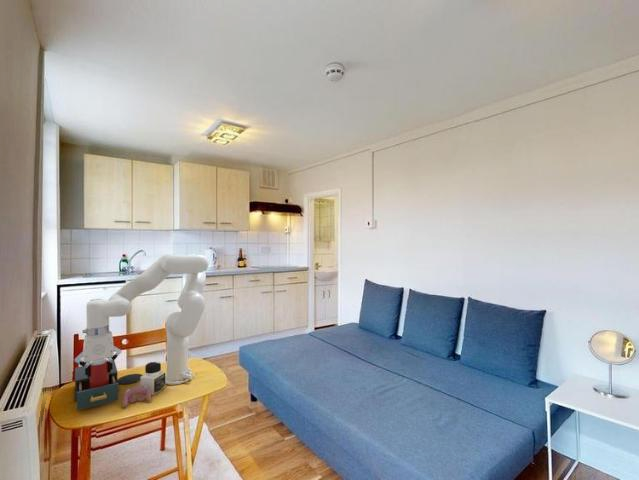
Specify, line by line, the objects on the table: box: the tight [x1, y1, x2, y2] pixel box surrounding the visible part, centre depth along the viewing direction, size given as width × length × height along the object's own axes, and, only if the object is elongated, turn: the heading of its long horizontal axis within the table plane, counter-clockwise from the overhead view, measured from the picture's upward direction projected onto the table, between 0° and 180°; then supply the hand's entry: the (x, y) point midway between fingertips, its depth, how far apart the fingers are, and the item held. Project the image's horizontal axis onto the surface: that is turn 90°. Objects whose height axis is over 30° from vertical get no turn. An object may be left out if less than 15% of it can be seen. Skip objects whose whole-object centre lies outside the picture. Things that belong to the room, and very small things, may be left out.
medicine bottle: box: [139, 361, 166, 396], centre depth 140 cm, size 7×7×12 cm
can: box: [89, 358, 109, 389], centre depth 130 cm, size 6×6×13 cm
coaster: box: [117, 373, 144, 386], centre depth 150 cm, size 10×10×1 cm
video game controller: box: [122, 385, 152, 409], centre depth 130 cm, size 10×5×7 cm, turn 123°
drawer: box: [76, 374, 119, 411], centre depth 129 cm, size 19×13×7 cm
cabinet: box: [74, 360, 119, 402], centre depth 140 cm, size 16×15×9 cm
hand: (99, 373), depth 130 cm, fingers closed on can, 6 cm apart
